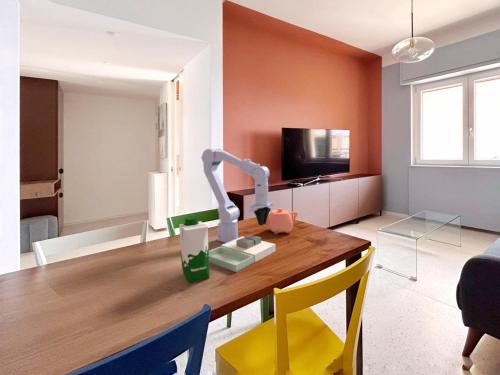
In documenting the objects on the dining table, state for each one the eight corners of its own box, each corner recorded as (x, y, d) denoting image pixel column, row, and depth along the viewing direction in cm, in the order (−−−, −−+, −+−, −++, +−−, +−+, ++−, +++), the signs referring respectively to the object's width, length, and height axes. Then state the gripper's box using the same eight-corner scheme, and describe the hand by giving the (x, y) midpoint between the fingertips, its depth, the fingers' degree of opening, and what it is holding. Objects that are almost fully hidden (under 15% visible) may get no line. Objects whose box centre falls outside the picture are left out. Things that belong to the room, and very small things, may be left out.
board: (221, 251, 113) (221, 245, 113) (243, 242, 124) (242, 236, 124) (255, 262, 102) (254, 254, 102) (275, 251, 113) (275, 244, 112)
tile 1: (236, 245, 111) (236, 240, 111) (242, 243, 114) (242, 237, 114) (247, 249, 108) (247, 243, 107) (253, 246, 111) (253, 240, 110)
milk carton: (204, 268, 98) (201, 214, 95) (213, 278, 90) (210, 220, 87) (180, 274, 93) (176, 218, 91) (186, 285, 86) (183, 224, 83)
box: (202, 260, 105) (201, 253, 105) (220, 252, 113) (220, 246, 113) (236, 272, 94) (236, 265, 94) (254, 262, 102) (254, 256, 101)
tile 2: (244, 242, 115) (244, 237, 115) (250, 240, 118) (250, 234, 118) (255, 245, 111) (255, 239, 111) (261, 242, 114) (261, 237, 114)
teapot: (257, 228, 145) (257, 206, 144) (293, 226, 148) (293, 205, 146) (262, 236, 132) (261, 212, 130) (301, 234, 135) (301, 210, 133)
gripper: (258, 197, 109) (259, 229, 111) (278, 192, 121) (278, 222, 122) (245, 195, 114) (246, 227, 116) (265, 191, 125) (266, 219, 127)
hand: (262, 224), depth 119 cm, fingers closed
